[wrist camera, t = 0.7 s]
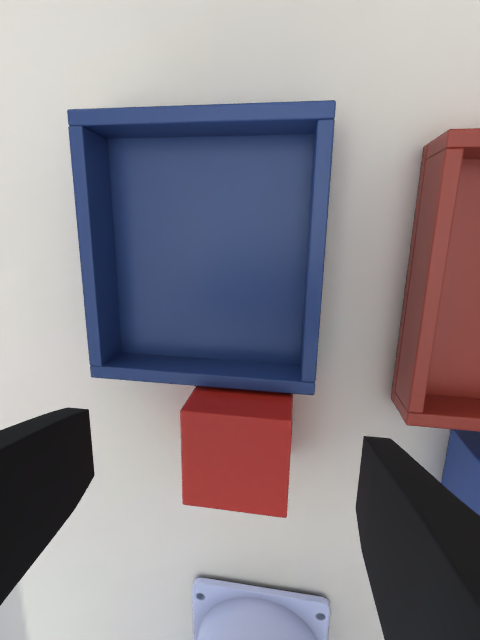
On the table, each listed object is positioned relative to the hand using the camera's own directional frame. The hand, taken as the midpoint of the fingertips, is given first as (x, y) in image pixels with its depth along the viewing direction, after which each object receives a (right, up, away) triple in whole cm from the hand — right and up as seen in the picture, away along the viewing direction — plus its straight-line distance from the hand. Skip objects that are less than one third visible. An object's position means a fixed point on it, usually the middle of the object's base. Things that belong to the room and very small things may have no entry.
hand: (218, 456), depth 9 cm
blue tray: (-1, +7, +8) cm, 10 cm away
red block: (+1, -1, +9) cm, 9 cm away
